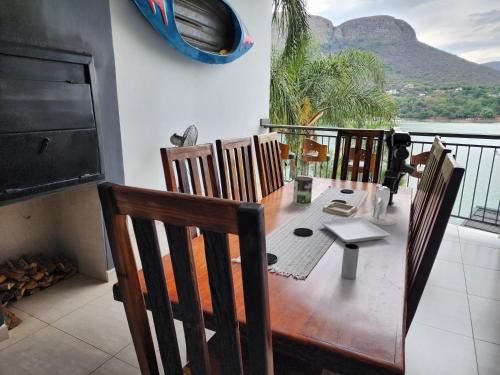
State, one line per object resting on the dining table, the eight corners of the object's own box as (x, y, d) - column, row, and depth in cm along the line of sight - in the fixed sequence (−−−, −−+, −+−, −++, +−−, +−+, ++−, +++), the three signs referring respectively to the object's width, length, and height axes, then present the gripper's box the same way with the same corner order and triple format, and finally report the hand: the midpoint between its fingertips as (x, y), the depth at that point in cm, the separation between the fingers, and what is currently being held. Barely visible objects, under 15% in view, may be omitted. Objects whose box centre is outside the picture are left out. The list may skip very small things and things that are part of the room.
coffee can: (315, 203, 176) (316, 178, 173) (303, 206, 170) (304, 181, 166) (300, 198, 184) (302, 175, 180) (288, 202, 177) (290, 177, 174)
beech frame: (333, 205, 173) (333, 201, 173) (356, 210, 165) (357, 206, 165) (322, 210, 163) (323, 207, 163) (347, 216, 155) (347, 212, 155)
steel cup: (389, 219, 151) (393, 189, 147) (379, 221, 148) (382, 190, 144) (378, 214, 157) (382, 185, 153) (368, 216, 154) (371, 186, 150)
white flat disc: (368, 211, 163) (368, 210, 163) (400, 218, 153) (401, 217, 153) (356, 219, 151) (356, 218, 151) (391, 227, 141) (391, 226, 141)
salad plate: (344, 247, 122) (345, 239, 121) (318, 227, 142) (319, 220, 141) (390, 242, 127) (391, 234, 126) (359, 223, 147) (360, 216, 146)
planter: (339, 272, 103) (341, 243, 100) (352, 271, 103) (355, 242, 100) (344, 279, 98) (347, 249, 96) (358, 279, 99) (361, 249, 96)
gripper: (411, 161, 142) (406, 194, 146) (420, 157, 156) (416, 188, 160) (385, 159, 149) (381, 190, 152) (396, 155, 163) (393, 184, 167)
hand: (394, 188), depth 158 cm, fingers open, 9 cm apart
